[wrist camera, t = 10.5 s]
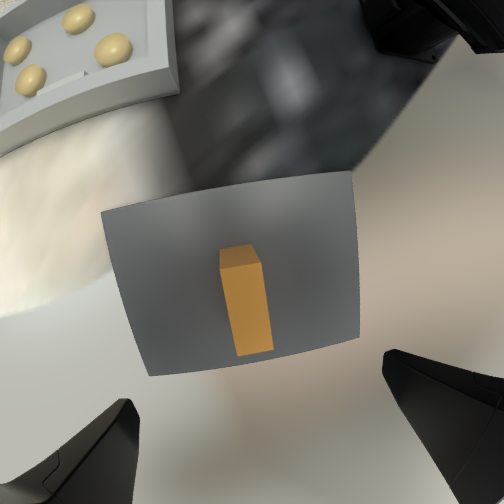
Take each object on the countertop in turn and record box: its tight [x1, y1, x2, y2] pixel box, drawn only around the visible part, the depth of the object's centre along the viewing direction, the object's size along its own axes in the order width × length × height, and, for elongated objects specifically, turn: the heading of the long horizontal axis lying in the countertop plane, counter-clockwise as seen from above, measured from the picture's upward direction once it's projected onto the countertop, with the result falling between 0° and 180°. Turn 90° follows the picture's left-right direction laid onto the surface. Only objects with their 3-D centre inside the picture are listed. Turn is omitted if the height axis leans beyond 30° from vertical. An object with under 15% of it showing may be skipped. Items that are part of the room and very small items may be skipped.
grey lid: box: [101, 171, 360, 376], centre depth 17 cm, size 17×13×6 cm
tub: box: [0, 0, 180, 157], centre depth 12 cm, size 16×12×4 cm
